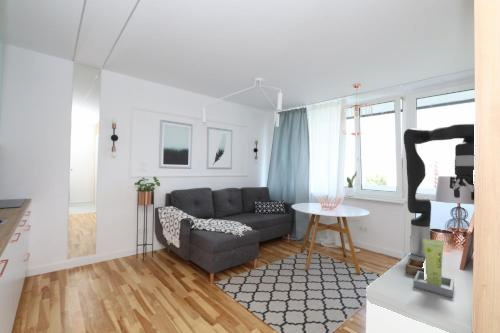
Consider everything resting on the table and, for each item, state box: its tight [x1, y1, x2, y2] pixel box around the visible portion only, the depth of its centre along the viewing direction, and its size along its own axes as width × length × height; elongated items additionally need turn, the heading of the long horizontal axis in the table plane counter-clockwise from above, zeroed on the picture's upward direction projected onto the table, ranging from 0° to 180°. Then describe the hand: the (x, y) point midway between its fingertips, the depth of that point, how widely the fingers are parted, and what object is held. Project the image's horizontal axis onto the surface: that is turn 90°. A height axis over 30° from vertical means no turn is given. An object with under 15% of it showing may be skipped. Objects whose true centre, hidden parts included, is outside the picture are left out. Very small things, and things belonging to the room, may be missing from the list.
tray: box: [413, 271, 455, 299], centre depth 102 cm, size 13×13×3 cm
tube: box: [423, 239, 445, 286], centre depth 102 cm, size 6×5×20 cm
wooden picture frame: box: [405, 257, 425, 277], centre depth 115 cm, size 12×12×4 cm
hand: (465, 198), depth 114 cm, fingers open, 8 cm apart
